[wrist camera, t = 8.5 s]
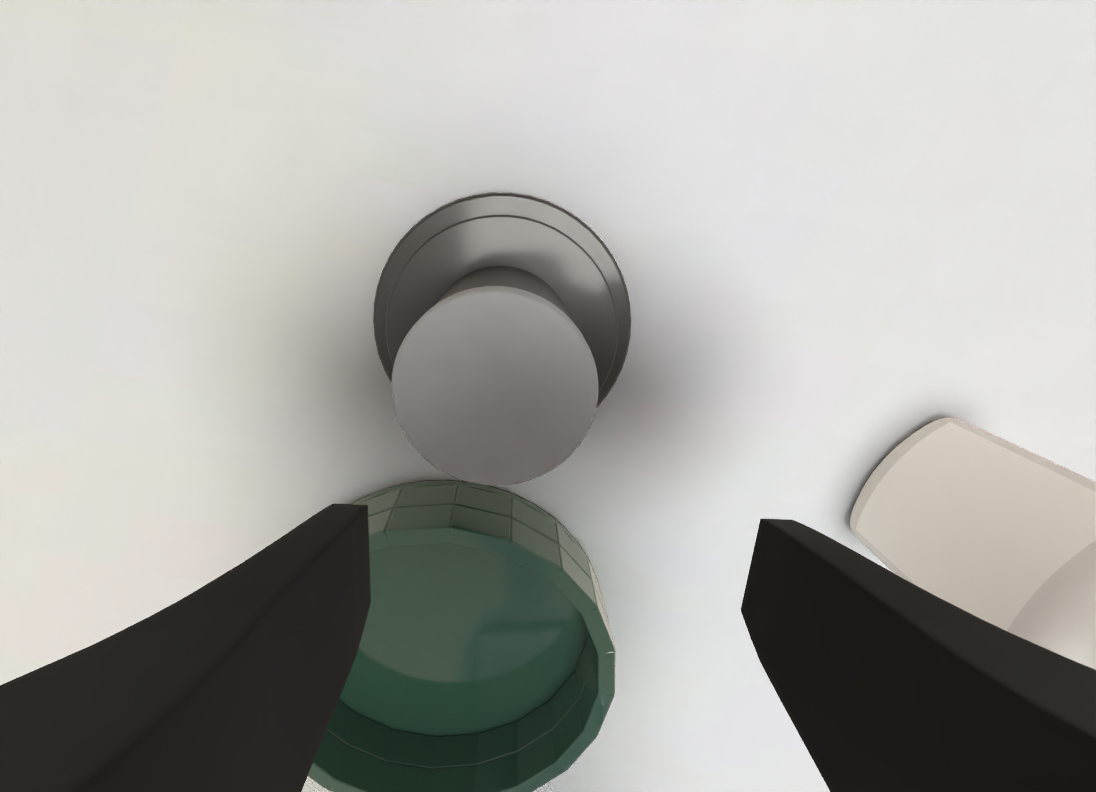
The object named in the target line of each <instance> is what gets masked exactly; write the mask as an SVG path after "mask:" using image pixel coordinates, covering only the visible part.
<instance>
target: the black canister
mask: <svg viewBox="0 0 1096 792" xmlns="http://www.w3.org/2000/svg"><path fill="white" fill-rule="evenodd" d="M391 388H392V400H393V404H394V409H395V413H396V416H397V418H398V421H399V424H400V426H401V428H402V430H403V432H404V434H405V435H406V437H407V438H408V440H409V441H410V443H411V444H412V445H413V447H414V448H415V449H416V450H417V451H418V452H419V453H420V454H421V455H422V456H423V457H424V458H425V459H426V460H427V461H428V462H430V463H431V464H432V465H434V466H435V467H437V468H438V469H440V470H441V471H443V472H445V473H447V474H449V475H451V476H453V477H455V478H458V479H461V480H464V481H467V482H471V483H476V484H482V485H510V484H517V483H521V482H525V481H528V480H531V479H534V478H536V477H539V476H541V475H543V474H545V473H547V472H549V471H551V470H552V469H554V468H555V467H557V466H558V465H559V464H561V463H562V462H563V461H564V460H565V459H567V458H568V457H569V456H570V455H571V454H572V453H573V452H574V451H575V449H576V448H577V447H578V446H579V445H580V443H581V442H582V440H583V439H584V437H585V435H586V434H587V432H588V430H589V428H590V426H591V423H592V421H593V418H594V415H595V411H596V406H597V401H598V375H597V370H596V365H595V361H594V358H593V356H592V353H591V351H590V348H589V346H588V344H587V343H586V341H585V339H584V337H583V335H582V334H581V332H580V330H579V329H578V328H577V326H576V325H575V324H574V322H573V321H572V320H571V318H570V316H569V314H568V312H567V311H566V309H565V307H564V305H563V303H562V301H561V300H560V298H559V296H558V295H557V294H556V292H555V291H554V290H553V289H552V288H551V287H550V286H549V285H548V284H547V283H546V282H545V281H543V280H542V279H541V278H539V277H537V276H536V275H534V274H532V273H530V272H528V271H525V270H523V269H519V268H515V267H509V266H492V267H486V268H482V269H478V270H476V271H473V272H471V273H469V274H467V275H466V276H464V277H462V278H461V279H459V280H458V281H457V282H456V283H454V284H453V285H452V286H451V288H450V289H449V290H448V291H447V292H446V293H445V294H444V295H443V296H442V298H441V299H440V300H439V301H438V302H437V303H436V304H435V305H434V306H433V307H432V308H431V309H429V310H428V311H427V312H426V313H425V314H424V315H423V316H422V317H421V318H420V319H419V320H418V321H417V322H416V323H415V324H414V326H413V327H412V328H411V330H410V331H409V332H408V334H407V335H406V337H405V338H404V340H403V342H402V344H401V346H400V348H399V351H398V353H397V356H396V359H395V363H394V368H393V373H392V386H391Z"/></svg>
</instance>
